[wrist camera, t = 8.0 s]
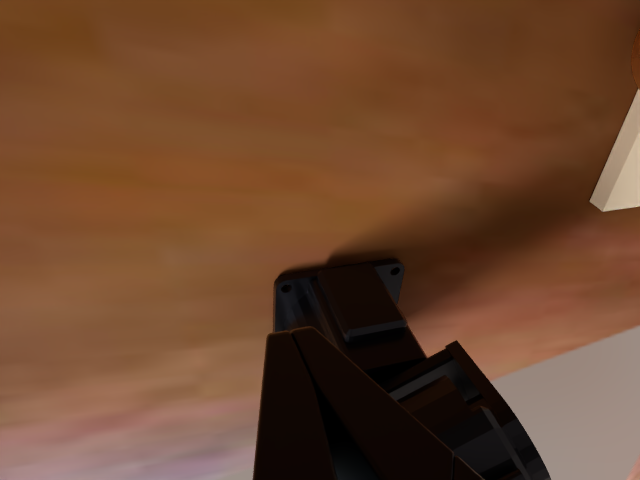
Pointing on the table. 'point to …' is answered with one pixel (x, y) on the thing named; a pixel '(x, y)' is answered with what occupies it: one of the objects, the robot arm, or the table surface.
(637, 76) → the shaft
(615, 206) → the bearing block
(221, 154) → the table surface
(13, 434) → the table surface
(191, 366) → the table surface
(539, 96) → the table surface
